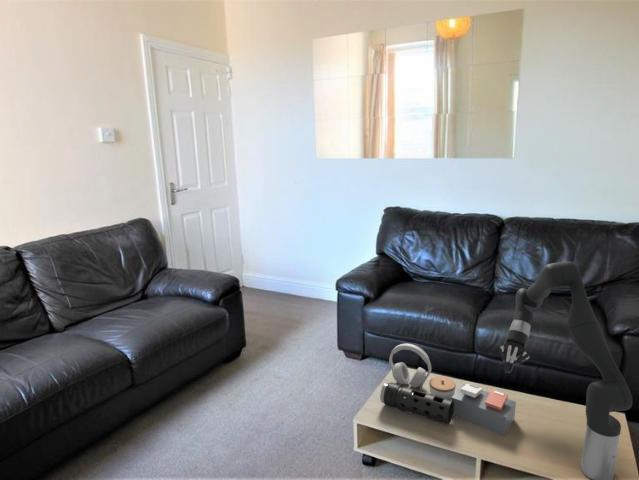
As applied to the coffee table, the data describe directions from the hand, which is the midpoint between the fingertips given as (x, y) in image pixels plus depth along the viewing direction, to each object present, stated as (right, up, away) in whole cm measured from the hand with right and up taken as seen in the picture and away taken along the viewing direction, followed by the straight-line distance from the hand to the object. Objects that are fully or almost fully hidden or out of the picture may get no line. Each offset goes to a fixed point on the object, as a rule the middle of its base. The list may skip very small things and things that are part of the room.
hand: (507, 372), depth 175 cm
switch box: (-10, -18, -1) cm, 21 cm away
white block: (-14, -8, 0) cm, 17 cm away
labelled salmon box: (-7, -9, -6) cm, 13 cm away
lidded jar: (-23, -15, +12) cm, 30 cm away
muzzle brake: (-36, -18, +3) cm, 40 cm away
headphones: (-35, -13, +23) cm, 43 cm away
